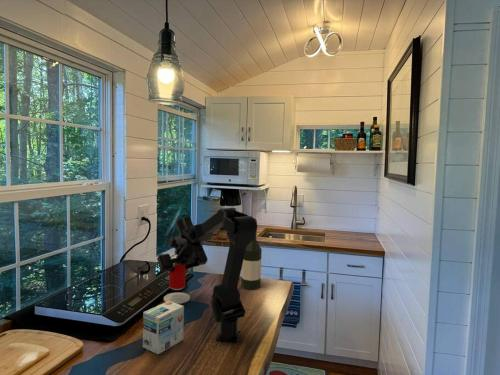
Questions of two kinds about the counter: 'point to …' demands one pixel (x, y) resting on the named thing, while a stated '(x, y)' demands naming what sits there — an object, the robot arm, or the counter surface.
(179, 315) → the light bulb box
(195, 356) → the counter surface
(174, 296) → the coaster
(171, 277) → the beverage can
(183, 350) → the counter surface
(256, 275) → the wine bottle
